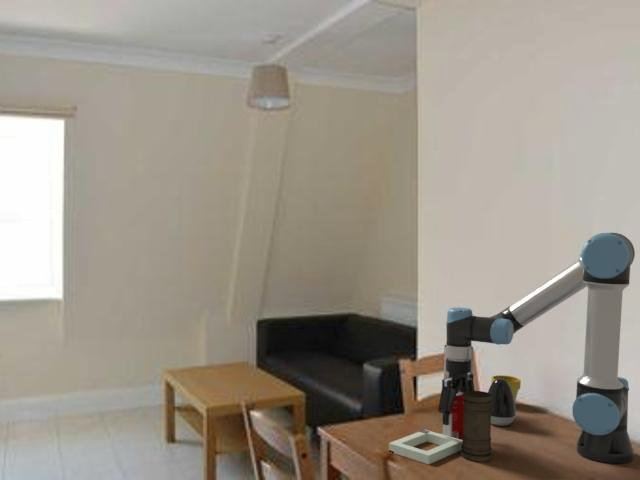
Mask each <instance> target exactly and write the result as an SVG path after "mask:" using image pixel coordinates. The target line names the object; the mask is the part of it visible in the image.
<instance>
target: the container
mask: <svg viewBox="0 0 640 480" xmlns="http://www.w3.org/2000/svg"><path fill="white" fill-rule="evenodd" d="M463 398H464V399H463V401H464V407H463V409H464V413H463V436H462V438H463V444H462V446H461V448H462V450H460V455H461V457H462V458H464V460H465V459H466V460H469V461H473V462H481V463H482V462H488V461H491V460H492V459H493V452H492V451H493V449H492V437H491V435H492V433H491V428H492V427H491V426H492V425H491V424H492V423H491V403H492V401H491V400H492V399H493V396H492V395H491V394H490V393H488V391H482V390H475V391H466V392H464V393H463Z"/></svg>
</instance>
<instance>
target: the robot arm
mask: <svg viewBox="0 0 640 480" xmlns="http://www.w3.org/2000/svg"><path fill="white" fill-rule="evenodd" d="M628 238H629V237H626V236H625V235H623V234H621V233H617V232H601V233H598V234H597V233H596V234H594V235H593V236H591V237H590V238H589V239H588V240H587V241H586V242H585V244H584V245H583V247H582V249H581V253H580V254H579V258H578V260H577V261H575V262H573V263H572V264H571V265H569V266H568V267H566V268H565V269H563V270H562V271H560V272H559V273H557V274H555V275H554V276H553V277H551V278H550V279H548V280H547V281H545V282H543V283H542V284H541V285H539V286H538V287H536V288H535V289H533V290H532V291H530V292H529V293H527V294H525V295H524V296H523V297H521V298H519V299H518V300H517V301H515V302H514V303H512V304H511V305H509V306H508V307H505V309H502V311H500V312H499V313H497V314H494V315H492V316H490V317H489V316H488V317H487V316H476V315H473V310H472V309H471V308H467V307H451V308H450V307H449V309H448V310H447V314H446V316H447V317H446V323H445V324H446V341H445V343H446V344H445V345H447V347H446V357H447V359H446V371H448V372H449V377H448V379H444V378H443V379H442V381H441V391H440V392H441V393H440V397H439V402H438V403H439V404H438V408H437V412H438V413H441V414H442V434H443V435H446V436H452V414H450V413H451V409H452V406H453V403H454V400H455V397H456V394H457V393H458V392H459V390H460V392H466V391H476V390H475V384H474V373H473V374H472V373H470V372H471V361H470V359H471V346H472V342H477V343H487V344H495V345H509V344H511V343H512V340H513V338H514V335H515V334H516V333H517V332H518V331H519V330H521V329H523V328H524V327H526V326H527V325H528V324H530V323H532V322H533V321H536V320H537V319H538V318H540V317H541V316H543V315H545V313H548V312H549V311H551V310H552V309H554V308H556V307H557V306H558V305H560V304H562V303H563V302H565V301H566V300H567V299H570V298H571V297H573V296H575V295H576V294H578V293H579V292H581V291H582V290H584V289H585V288H587V302H586V303H587V306H586V307H587V308H586V321H585V323H586V324H585V339H584V343H585V344H584V357H583V359H584V360H583V373H582V375H580V376H579V377H578V378H577V380H576V393H575V395H576V396H575V400H574V402H573V405H572V416H573V420H574V422H575V423H576V425H577V426H578V427H579V428H581V431H580V434H579V436H578V440H577V442H576V452H577V453H578V454H579V455H580V456H582V457H584V458H587V459H588V460H592V461H596V462H601V463H607V464H609V463H610V464H624V463H629V462H631V461H633V459H634V448H633V445H632V442H631V437H630V436H629V432H628V417H629V416H628V415H629V414H628V410H629V391H630V388H629V381H628V380H627V378H624V377H621V376H618V375H619V361H620V360H619V356H620V341H621V323H622V307H623V306H622V305H623V291H624V290H625V289H626V288H627V287H629V286H630V279H631V278H630V276H631V265H632V264H633V262H634V261H635V260H634V259H635V254H636V252H635V248H634V245H633V243H632V241H631V240H630V239H628ZM451 388H452V389H451Z"/></svg>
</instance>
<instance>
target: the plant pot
mask: <svg viewBox="0 0 640 480" xmlns="http://www.w3.org/2000/svg"><path fill="white" fill-rule="evenodd" d="M498 378H502V379H504V378H506V379H507V380H506V381H507V382H508V383H509V385H510V387H511V390H512V393H513V397H514V401H515V402H516V400H517V397H518V392H519V390H520V389H521V379H520V378H519V377H516V376H511V375H500V374H499V375H498V374H497V375H493V376H491V382H490V383H491V384H492V383H493V381H494V380H496V379H498ZM491 384H490V385H491Z"/></svg>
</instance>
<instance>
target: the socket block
mask: <svg viewBox="0 0 640 480" xmlns="http://www.w3.org/2000/svg"><path fill="white" fill-rule="evenodd" d="M426 442H427V443H432V444H435V445H437V446H435V447H432V448H431V449H428V450H424V449H421V448H417V447H416V446H418V445H421V444H424V443H426ZM462 444H463V440H460V439H457V438H453V437H450V436H447V435H444V434H443V433H438V432H436V431H435V432H434V431H431V430H428V429H423V430H420V431H418V432H414V433H413V434H409V435H407V436H403V437H402V438H398V439H396V440H393V441H390V442H389V443H388V451H389V450H391V451H393V452H394V453H393V454H395V455H398V456H401V457H404V458H408V459H411V460H413V461H416V462H420V463H423V464H426V465H431V464H433V463H435V462H437V461H440V460H442V459H444V458H446V457H449V456H451V455H453V454H456V453H458V452H461V450H462V448H461V446H462Z"/></svg>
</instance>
